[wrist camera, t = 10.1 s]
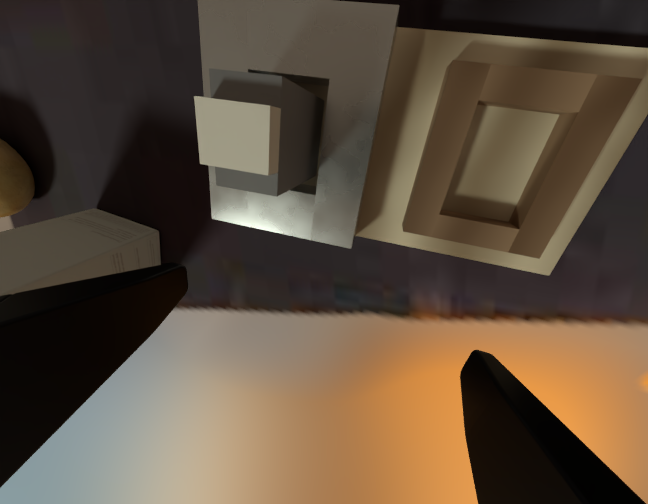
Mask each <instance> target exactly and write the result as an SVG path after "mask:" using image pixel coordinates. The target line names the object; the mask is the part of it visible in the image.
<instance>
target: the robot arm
mask: <svg viewBox="0 0 648 504" xmlns="http://www.w3.org/2000/svg"><path fill="white" fill-rule="evenodd" d="M187 290H188V280H187V270H186V268H185V266H183V265H180V264H177V263H167V264H162V265H157V266H152V267H147V268H141V269H136V270H131V271H126V272H121V273H116V274H111V275H105V276H100V277H95V278H90V279H85V280H80V281H75V282H69V283H64V284H59V285H54V286H49V287H44V288H39V289H34V290H28V291H23V292H18V293H15V294H13V295H12V294H8V295H2V296H0V487H1V486H2V485H3V484H4V483H5V482H6V481H7V480H8V479H9V478H10V477H11V476H12V475H13V474H14V473H15V472H16V471H17V470H18V469H19V468H20V467H21V466H22V465H23V464H24V463H25V462H26V461H27V460H28V459H29V458H30V457H31V456H32V455H33V454H34V453H35V452H36V451H37V450H38V449H39V448H40V447H41V446H42V445H43V444H44V443H45V442H46V441H47V440H48V439H49V438H50V437H51V436H52V434H54V433H55V432H56V431H57V430H58V429H59V428H60V427H61V426H62V425H63V424H64V423H65V421H67V419H69V417H70V416H71V415H73V413H74V412H75V411H76V410H77V409H78V408H79V407H80V406H81V405H82V404H83V403H84V402H85V401H86V400H87V399H88V398H89V397H90V396H91V395H92V394H93V393H94V392H95V391H96V390H97V389H98V388H99V387H100V386H101V385H102V384H103V383H104V382H105V381H106V380H107V379H108V378H109V377H110V376H111V375H112V374H113V373H114V372H115V371H116V370H117V369H118V368H119V367H120V366H121V365H122V364H123V363H124V362H125V361H126V360H127V359H128V358H129V357H130V356H131V355H132V354H133V353H134V352H135V351H136V350H137V349H138V348H139V346H141V345H142V344H143V343H144V342H145V341H146V340H147V339H148V338H149V337H150V335H151V334H152V333H153V332H154V331H155V330H156V329H157V328H158V327H159V325H160V324H161V323H162V322H163V321H164V319H165V318H166V317H167V316H168V315H169V313H170V312H171V311H172V310H173V309H174V307H175V306H176V305H177V304H178V302H179V301H180V300H181V299H182V298H183V296H184V295H185V294H186V292H187ZM460 379H461V392H462V403H463V416H464V427H465V436H466V442H467V447H468V452H469V458H470V463H471V468H472V473H473V479H474V484H475V489H476V494H477V500H478V504H646V503H645V502H644V501H643V500H642V499H641V498H640V497H639V496H638V495H637V494H635V493H634V492H633V491H632V490H631V489H630V488H629V487H628V486H627V485H626V484H625V483H624V482H623V481H622V480H621V479H620V478H619V477H618V476H617V475H616V474H615V473H614V472H613V471H612V470H610V468H609V467H607V465H606V464H604V463H603V462H602V461H601V460H600V459H599V458H598V457H597V456H596V455H595V454H594V453H593V452H592V451H591V450H590V449H589V448H588V447H587V446H586V445H585V444H584V443H583V442H582V441H581V440H580V439H579V438H578V437H577V436H576V435H575V434H573V432H571V431H570V430H569V429H568V428H567V427H566V426H565V425H564V424H563V423H562V422H561V421H560V420H559V419H558V418H557V417H556V416H555V415H554V414H553V413H552V412H551V411H550V410H549V409H548V408H547V407H546V406H545V405H544V404H543V403H542V402H541V401H539V400H538V399H537V398H536V397H535V396H534V395H533V394H532V393H531V392H530V391H529V390H528V389H527V388H526V387H525V386H524V385H523V384H522V383H521V382H520V381H519V380H518V379H517V378H516V377H515V376H513V374H511V372H510V371H509V370H507V369H506V368H505V367H504V366H503V365H502V364H501V363H500V362H499V361H498V360H497V359H496V358H495V357H494V356H493V355H491V354H489V353H486V352H483V351H479V350H474V351H473V352H472V353H471V354H470V356H469V358H468V360H467V361H466V363H465V365H464V366H463V368H462V371H461V375H460Z"/></svg>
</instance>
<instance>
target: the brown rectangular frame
mask: <svg viewBox="0 0 648 504" xmlns="http://www.w3.org/2000/svg"><path fill="white" fill-rule="evenodd" d="M641 80H642V79H640V78H630V77H620V76H610V75H600V74H590V73H580V72H570V71H560V70H550V69H540V68H530V67H520V66H510V65H500V64H490V63H480V62H470V61H460V60H452V62H451V63H450V64H449V65H448V66H447V68H446V71H445V75H444V78H443V82H442V85H441V89H440V92H439V96H438V100H437V103H436V107H435V110H434V114H433V117H432V121H431V124H430V128H429V131H428V135H427V138H426V142H425V145H424V149H423V152H422V156H421V159H420V163H419V166H418V170H417V174H416V177H415V181H414V184H413V188H412V191H411V195H410V198H409V202H408V205H407V209H406V212H405V216H404V219H403V223H402V227H403V232H408V233H413V234H418V235H423V236H428V237H433V238H438V239H443V240H448V241H453V242H458V243H463V244H468V245H473V246H478V247H483V248H488V249H493V250H498V251H503V252H508V253H513V254H518V255H523V256H528V257H533V258H538V259H540V257H541V255H542V254H543V252H544V250H545V248H546V247H547V245H548V243H549V241H550V240H551V238H552V236H553V234H554V233H555V231H556V229H557V227H558V226H559V224H560V222H561V220H562V219H563V217H564V215H565V213H566V212H567V210H568V208H569V206H570V205H571V203H572V201H573V199H574V198H575V196H576V194H577V192H578V191H579V189H580V187H581V185H582V184H583V182H584V180H585V178H586V177H587V175H588V173H589V171H590V170H591V168H592V166H593V164H594V163H595V161H596V159H597V157H598V156H599V154H600V152H601V150H602V149H603V147H604V145H605V143H606V142H607V140H608V138H609V136H610V135H611V133H612V131H613V129H614V128H615V126H616V124H617V122H618V121H619V119H620V117H621V115H622V114H623V112H624V110H625V108H626V107H627V105H628V103H629V101H630V100H631V98H632V96H633V94H634V93H635V91H636V89H637V87H638V86H639V84H640V82H641ZM477 105H485V106H494V107H502V108H510V109H518V110H526V111H534V112H542V113H551V114H559V117H558V119H557V121H556V123H555V125H554V127H553V130H552V132H551V134H550V136H549V138H548V140H547V142H546V144H545V146H544V148H543V150H542V153H541V155H540V157H539V159H538V161H537V163H536V165H535V167H534V169H533V171H532V174H531V176H530V178H529V180H528V182H527V184H526V186H525V188H524V190H523V192H522V195H521V197H520V199H519V201H518V203H517V205H516V207H515V209H514V211H513V213H512V216H511V218H510V220H509V222H507V221H502V220H496V219H491V218H485V217H480V216H474V215H469V214H463V213H458V212H452V211H447V210H442V209H441V208H442V205H443V202H444V199H445V196H446V193H447V190H448V188H449V185H450V182H451V179H452V176H453V173H454V170H455V167H456V164H457V162H458V159H459V156H460V153H461V150H462V147H463V144H464V141H465V138H466V136H467V133H468V130H469V127H470V124H471V121H472V118H473V115H474V112H475V109H476V107H477Z"/></svg>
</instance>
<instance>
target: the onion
mask: <svg viewBox="0 0 648 504" xmlns="http://www.w3.org/2000/svg"><path fill="white" fill-rule="evenodd" d="M34 191H35V182H34V178H33V175H32V171H31V170H30V168H29V166H28V165H27V163H26V162H25V161H24V159H23V158H22V157H21V156H20V155H19V154H18V153H17V151H16V150H15V149H13V148H12V147H11V146H9V145H8V144H7V143H6V142H5V141H3V140H2V139H0V217H5V216H10V215H12V214H15V213H17V212H19V211H21V210H23V209H24V208H25V207H26V206H27V205H28V204H29V203H30V201H31V200H32V198H33V196H34Z"/></svg>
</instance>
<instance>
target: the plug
mask: <svg viewBox="0 0 648 504" xmlns="http://www.w3.org/2000/svg"><path fill="white" fill-rule="evenodd" d="M209 77H210V93H211V98H206V97H198V96H194V101H195V112H196V124H197V135H198V147H199V159H200V164H204V165H210V166H215V174H216V186H222V187H227V188H232V189H238V190H243V191H249V192H254V193H260V194H265V195H270V196H276V197H277V196H279V195H281V194H283V193H285V192H287V191H289V190H290V189H292V188H294V187H296V186H298V185H300V184H302V183H304V182H305V181H307V180H309V179H311V178H313V177H315V176H316V173H317V164H318V155H319V145H320V136H321V127H322V117H323V108H324V100H322V99H321V98H319V97H317V96H315V95H314V94H312V93H310V92H309V91H307V90H305V89H303V88H302V87H300V86H298V85H297V84H295V83H293V82H291V81H290V80H288V79H286V78H285V77H283V76H277V75H267V74H258V73H249V72H240V71H230V70H221V69H212V68H209Z"/></svg>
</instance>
